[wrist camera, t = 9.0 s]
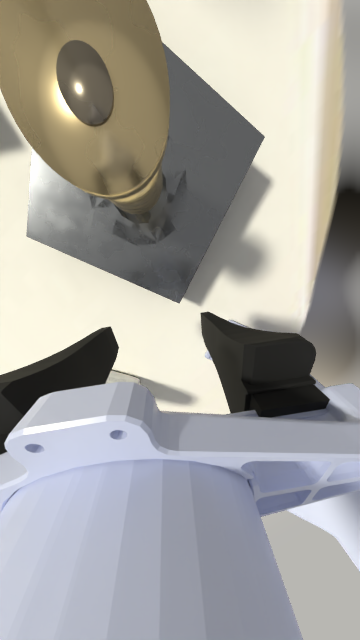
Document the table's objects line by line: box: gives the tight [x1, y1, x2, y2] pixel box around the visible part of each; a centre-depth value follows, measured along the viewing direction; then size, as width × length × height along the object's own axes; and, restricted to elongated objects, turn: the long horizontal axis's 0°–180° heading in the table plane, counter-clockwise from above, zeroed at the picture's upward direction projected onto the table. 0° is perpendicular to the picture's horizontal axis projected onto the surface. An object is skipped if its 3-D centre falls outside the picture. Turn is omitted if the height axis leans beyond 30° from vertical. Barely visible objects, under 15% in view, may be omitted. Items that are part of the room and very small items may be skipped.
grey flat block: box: [27, 42, 265, 303], centre depth 15 cm, size 16×16×4 cm
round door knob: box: [0, 0, 170, 214], centre depth 8 cm, size 5×5×7 cm
